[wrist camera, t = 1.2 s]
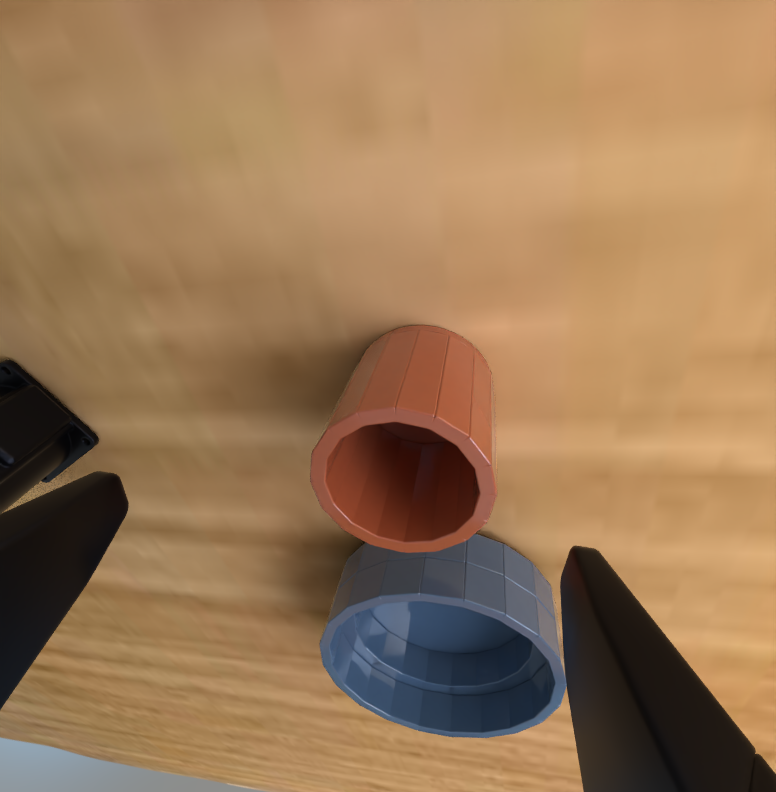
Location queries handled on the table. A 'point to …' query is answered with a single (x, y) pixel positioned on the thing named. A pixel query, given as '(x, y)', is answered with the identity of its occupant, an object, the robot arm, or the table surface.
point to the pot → (411, 444)
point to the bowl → (447, 639)
